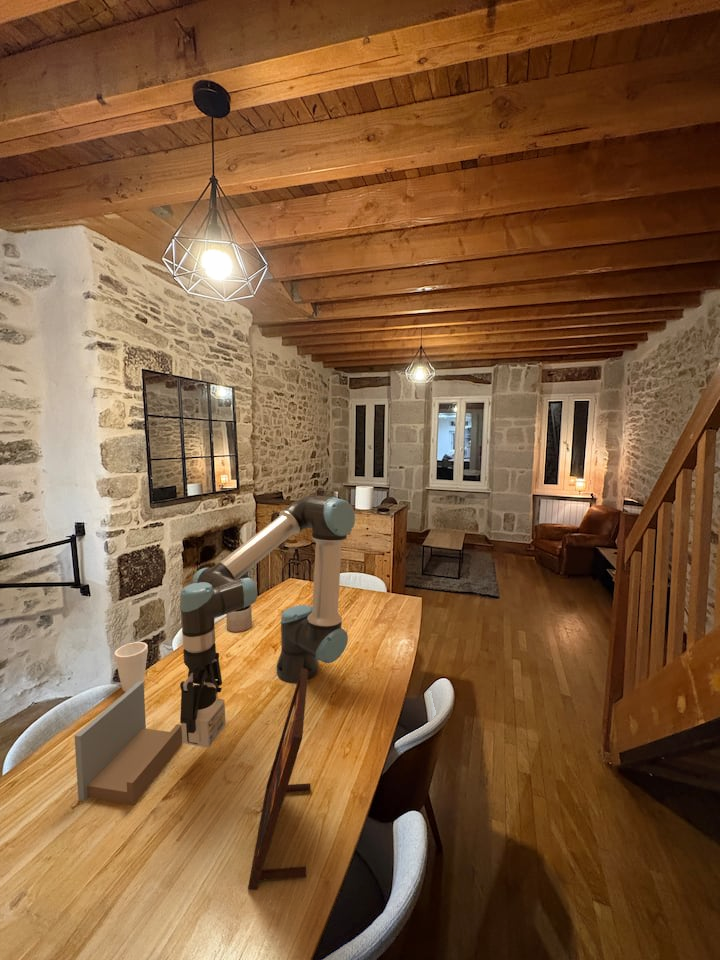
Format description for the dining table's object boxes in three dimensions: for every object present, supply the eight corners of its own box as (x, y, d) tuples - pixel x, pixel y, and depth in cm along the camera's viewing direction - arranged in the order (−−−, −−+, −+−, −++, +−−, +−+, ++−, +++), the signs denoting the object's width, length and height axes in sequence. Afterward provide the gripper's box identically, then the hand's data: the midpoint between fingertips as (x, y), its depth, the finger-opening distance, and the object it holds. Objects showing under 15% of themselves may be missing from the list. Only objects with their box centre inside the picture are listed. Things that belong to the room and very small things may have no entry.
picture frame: (266, 788, 90) (264, 669, 87) (310, 785, 91) (310, 667, 88) (247, 890, 69) (245, 739, 67) (305, 885, 70) (305, 735, 68)
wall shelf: (184, 740, 104) (182, 686, 103) (130, 809, 85) (127, 743, 83) (141, 734, 106) (138, 681, 105) (78, 800, 87) (74, 735, 85)
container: (209, 748, 93) (206, 700, 92) (181, 744, 95) (178, 696, 94) (226, 725, 101) (224, 680, 100) (200, 721, 103) (197, 676, 101)
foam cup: (155, 680, 130) (153, 645, 129) (131, 697, 122) (129, 659, 121) (134, 675, 134) (133, 640, 132) (109, 691, 125) (107, 653, 124)
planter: (257, 625, 171) (256, 605, 170) (237, 635, 162) (237, 614, 161) (240, 619, 177) (240, 599, 176) (221, 628, 168) (220, 607, 167)
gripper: (208, 624, 106) (212, 699, 109) (158, 668, 86) (164, 760, 88) (233, 626, 105) (236, 702, 107) (188, 671, 84) (194, 764, 87)
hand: (204, 728), depth 98 cm, fingers closed on container, 8 cm apart
